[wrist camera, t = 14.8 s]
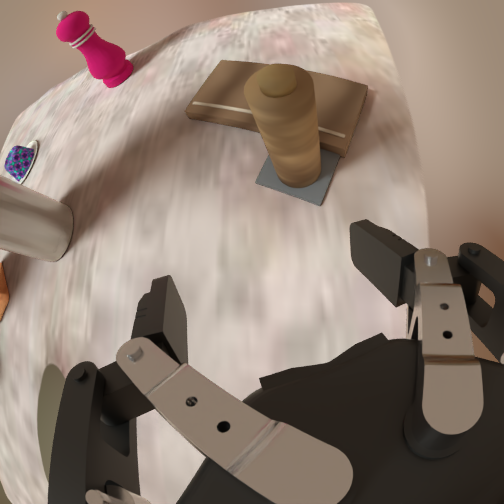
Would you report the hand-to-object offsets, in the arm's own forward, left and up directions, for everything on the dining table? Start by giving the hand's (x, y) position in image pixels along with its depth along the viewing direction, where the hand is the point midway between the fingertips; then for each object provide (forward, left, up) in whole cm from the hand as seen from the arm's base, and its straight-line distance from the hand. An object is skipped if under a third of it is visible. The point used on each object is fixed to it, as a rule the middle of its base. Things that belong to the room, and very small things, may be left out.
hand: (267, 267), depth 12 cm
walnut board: (-11, +19, -14) cm, 26 cm away
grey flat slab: (-5, +11, -14) cm, 18 cm away
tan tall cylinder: (-5, +11, -14) cm, 18 cm away
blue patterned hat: (-64, -1, -15) cm, 65 cm away
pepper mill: (-44, +22, -14) cm, 51 cm away
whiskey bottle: (-53, -28, -14) cm, 61 cm away
